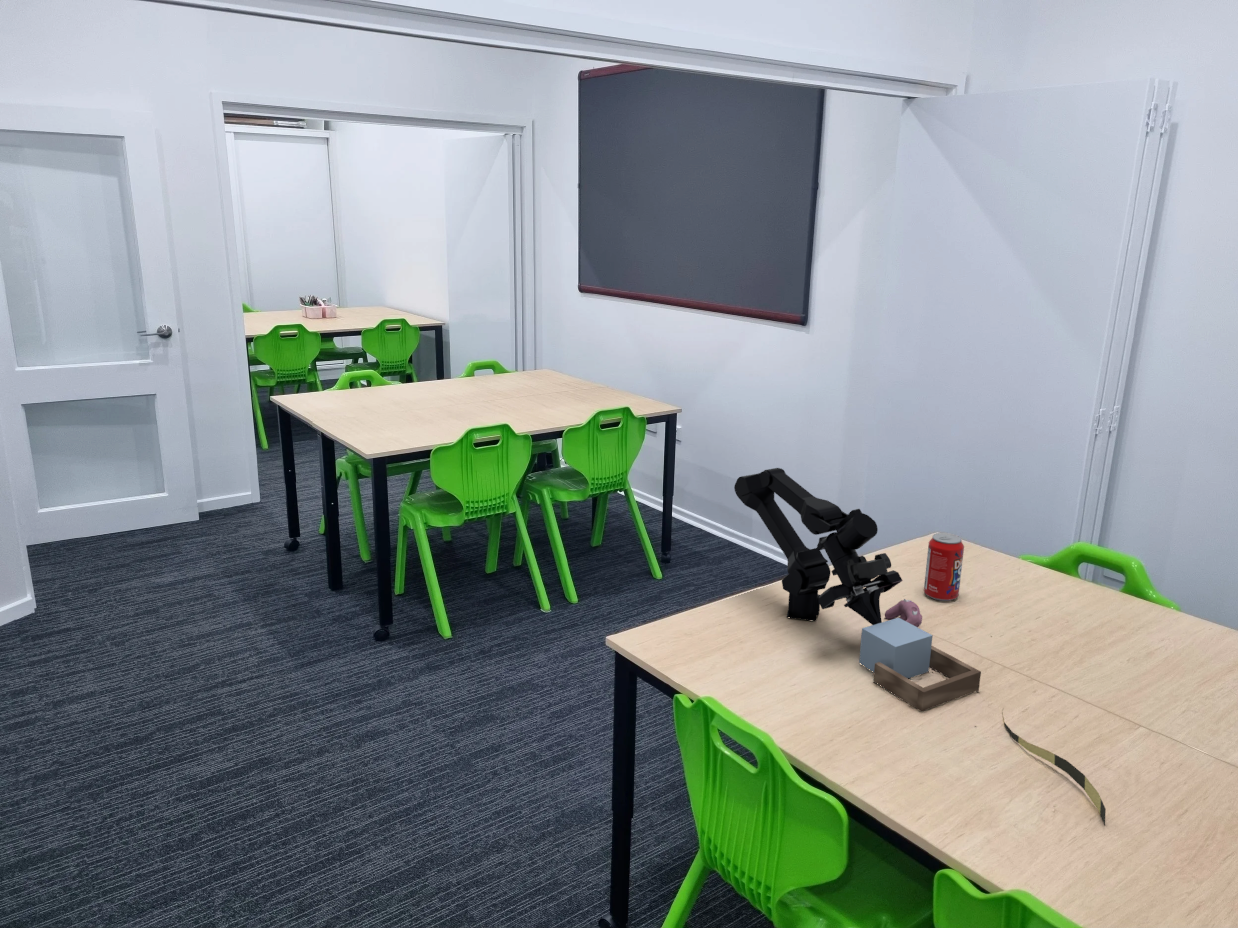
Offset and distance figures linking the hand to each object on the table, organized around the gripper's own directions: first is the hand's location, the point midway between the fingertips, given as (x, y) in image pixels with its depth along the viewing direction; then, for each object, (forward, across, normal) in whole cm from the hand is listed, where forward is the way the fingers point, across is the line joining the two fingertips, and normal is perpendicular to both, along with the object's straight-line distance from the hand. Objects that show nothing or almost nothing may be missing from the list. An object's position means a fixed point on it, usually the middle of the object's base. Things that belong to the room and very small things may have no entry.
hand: (879, 627), depth 180 cm
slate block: (+8, 0, +2) cm, 8 cm away
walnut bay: (+14, 0, -4) cm, 14 cm away
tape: (+33, +2, -21) cm, 39 cm away
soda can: (-6, +35, +15) cm, 39 cm away
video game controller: (0, +15, +10) cm, 18 cm away
